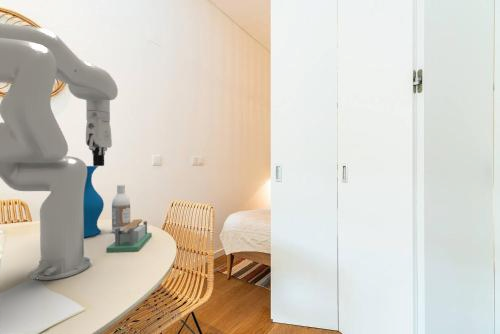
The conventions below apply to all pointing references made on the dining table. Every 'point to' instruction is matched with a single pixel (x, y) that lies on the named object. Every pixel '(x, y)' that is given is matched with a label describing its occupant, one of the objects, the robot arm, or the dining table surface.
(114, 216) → the bath foam
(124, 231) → the tan wooden bar
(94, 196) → the vase
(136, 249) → the grey and green block
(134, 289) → the dining table surface
